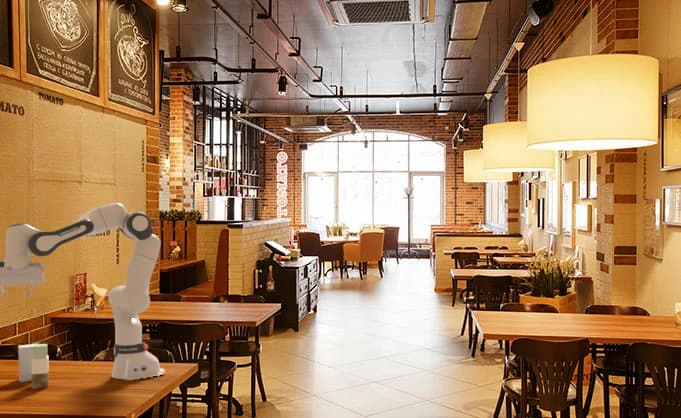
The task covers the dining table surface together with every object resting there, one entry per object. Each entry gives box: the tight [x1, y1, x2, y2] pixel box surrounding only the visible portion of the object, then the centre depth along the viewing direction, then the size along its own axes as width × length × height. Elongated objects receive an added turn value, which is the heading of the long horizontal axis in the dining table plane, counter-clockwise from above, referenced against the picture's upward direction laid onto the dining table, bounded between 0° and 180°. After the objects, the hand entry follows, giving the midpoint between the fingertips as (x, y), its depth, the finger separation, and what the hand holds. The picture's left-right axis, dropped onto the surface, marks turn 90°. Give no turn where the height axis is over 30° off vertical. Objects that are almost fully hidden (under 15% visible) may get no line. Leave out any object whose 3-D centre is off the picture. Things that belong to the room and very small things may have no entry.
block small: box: [33, 343, 48, 359], centre depth 265 cm, size 5×5×5 cm
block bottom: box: [30, 372, 49, 390], centre depth 265 cm, size 6×6×6 cm
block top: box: [32, 354, 50, 374], centre depth 265 cm, size 6×6×6 cm
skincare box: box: [17, 342, 39, 383], centre depth 275 cm, size 8×6×15 cm
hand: (17, 296), depth 265 cm, fingers open, 8 cm apart
